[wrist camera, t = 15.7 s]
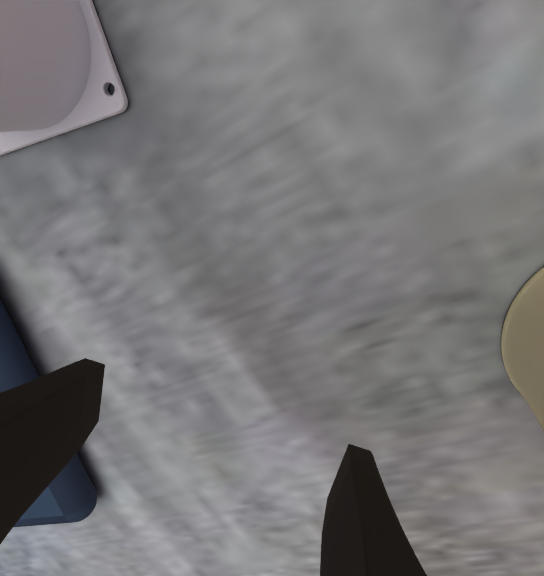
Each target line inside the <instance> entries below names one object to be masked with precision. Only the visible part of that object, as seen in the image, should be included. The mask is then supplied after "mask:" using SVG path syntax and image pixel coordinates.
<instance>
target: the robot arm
mask: <svg viewBox="0 0 544 576" xmlns="http://www.w3.org/2000/svg"><path fill="white" fill-rule="evenodd" d="M109 84H113V86H114V89H115V91H114V94H113V95H110V93H109V92H108V86H109ZM127 105H128V100H127V96H126V93H125V91H124V88H123V85H122V82H121V79H120V77H119V74H118V71H117V68H116V66H115V63H114V60H113V57H112V54H111V52H110V49H109V46H108V43H107V40H106V38H105V35H104V32H103V29H102V26H101V24H100V21H99V18H98V15H97V13H96V10H95V7H94V4H93V1H92V0H0V156H1V155H4V154H7V153H10V152H12V151H15V150H18V149H21V148H24V147H27V146H29V145H32V144H35V143H38V142H41V141H44V140H46V139H49V138H52V137H55V136H58V135H61V134H63V133H66V132H69V131H72V130H75V129H77V128H80V127H83V126H86V125H89V124H92V123H94V122H97V121H100V120H103V119H106V118H109V117H111V116H114V115H117V114H120V113H122V112H124V111H125V110H126V108H127ZM104 368H105V365H104V364H101V363H98V362H95V361H92V360H89V359H86V358H85V359H82V360H80V361H77V362H75V363H72V364H70V365H67V366H65V367H63V368H60V369H58V370H56V371H53V372H51V373H49V374H46V375H44V376H41V377H39V378H37V379H34V380H32V381H29V382H27V383H24V384H22V385H20V386H17V387H14V388H12V389H9V390H6V391H3V392H1V393H0V544H1V542H2V541H3V540H4V538H5V537H6V536H7V534H8V533H9V531H10V530H11V529H12V528H13V526H14V525H15V524H16V523H17V521H18V520H19V519H20V518H21V517H22V515H23V514H24V513H25V512H26V511H27V510H28V508H29V507H30V506H31V505H32V504H33V503H34V502H35V500H36V499H37V498H38V497H39V496H40V495H41V494H42V492H43V491H44V490H45V489H46V488H47V487H48V486H49V484H50V483H51V482H52V481H53V480H54V479H55V478H56V476H57V475H58V474H59V473H60V472H61V471H62V470H63V468H64V467H65V466H66V465H67V464H68V463H69V461H70V460H71V459H72V458H73V457H74V456H75V454H76V453H77V452H78V451H79V449H80V448H81V446H82V445H83V444H84V442H85V441H86V439H87V438H88V436H89V435H90V433H91V432H92V430H93V429H94V427H95V425H96V424H97V422H98V421H99V412H100V403H101V395H102V386H103V377H104ZM320 576H427V575H426V573H425V572H424V570H423V568H422V566H421V564H420V563H419V561H418V559H417V557H416V555H415V553H414V551H413V549H412V547H411V545H410V543H409V541H408V539H407V537H406V535H405V533H404V531H403V529H402V527H401V525H400V523H399V520H398V518H397V516H396V513H395V511H394V509H393V507H392V504H391V502H390V500H389V497H388V495H387V492H386V490H385V487H384V485H383V482H382V479H381V477H380V474H379V471H378V468H377V466H376V463H375V460H374V457H373V455H372V453H371V451H369V450H366V449H363V448H360V447H357V446H354V445H351V444H349V445H348V447H347V450H346V452H345V455H344V457H343V460H342V462H341V465H340V468H339V470H338V473H337V475H336V478H335V480H334V483H333V485H332V488H331V490H330V493H329V496H328V498H327V505H326V511H325V517H324V524H323V530H322V543H321V565H320Z"/></svg>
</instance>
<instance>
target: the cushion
mask: <svg viewBox="0 0 544 576" xmlns="http://www.w3.org/2000/svg"><path fill="white" fill-rule="evenodd" d="M37 378H39V375H38V373H37V371H36V369H35V367H34V365H33V363H32V361H31V359H30V357H29V355H28V353H27V351H26V349H25V347H24V345H23V343H22V341H21V339H20V337H19V335H18V333H17V331H16V329H15V327H14V325H13V323H12V321H11V319H10V317H9V315H8V313H7V311H6V309H5V307H4V305H3V303H2V301H1V299H0V393H1V392H3V391H6V390H9V389H12V388H14V387H17V386H20V385H22V384H24V383H27V382H29V381H32V380H34V379H37ZM96 501H97V494H96V490H95V488H94V486H93V484H92V482H91V480H90V478H89V476H88V474H87V472H86V470H85V468H84V466H83V464H82V462H81V460H80V458H79V456H78V454H77V453H76V454H75V456H74V457H73V458H72V459H71V460H70V461H69V463H68V464H67V465H66V466H65V467H64V468H63V470H62V471H61V472H60V473H59V474H58V475H57V476H56V478H55V479H54V480H53V481H52V482H51V483H50V484H49V486H48V487H47V488H46V489H45V490H44V491H43V492H42V494H41V495H40V496H39V497H38V498H37V499H36V500H35V502H34V503H33V504H32V505H31V506H30V507H29V508H28V510H27V511H26V512H25V513H24V514H23V515H22V517H21V518H20V519H19V520H18V521H17V523H16V524H15V525H14V526H13V527H21V526H33V525H46V524H58V523H71V522H78V521H81V520H83V519H85V518H86V517H88V516H89V515H90V514H91V512H92V511H93V509H94V508H95V505H96Z"/></svg>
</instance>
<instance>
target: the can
mask: <svg viewBox="0 0 544 576" xmlns="http://www.w3.org/2000/svg"><path fill="white" fill-rule="evenodd" d="M501 351H502V358H503V363H504V366H505V369H506V371H507V374H508V376H509V378H510V380H511V382H512V383H513V385H514V386H515V388H516V389H517V390H518V391H519V393H520V394H521V395H522V396H523V397H524V398H525V399H526V401H527V402H528V404H529V406H530V407H531V409H532V411H533V413H534V414H535V416H536V418H537V420H538V421H539V423H540V425H541V427H542V428H543V430H544V267H543V268H542V269H541V270H539V271H538V272H537V273H536V274H535V275H534V276H533V277H532V278H531V279H530V280H529V281H528V282H527V283H526V284H525V285H524V286H523V288H522V289H521V290H520V291H519V293H518V294H517V296H516V297H515V299H514V301H513V303H512V304H511V306H510V308H509V310H508V313H507V316H506V319H505V321H504V325H503V330H502V337H501Z"/></svg>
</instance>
